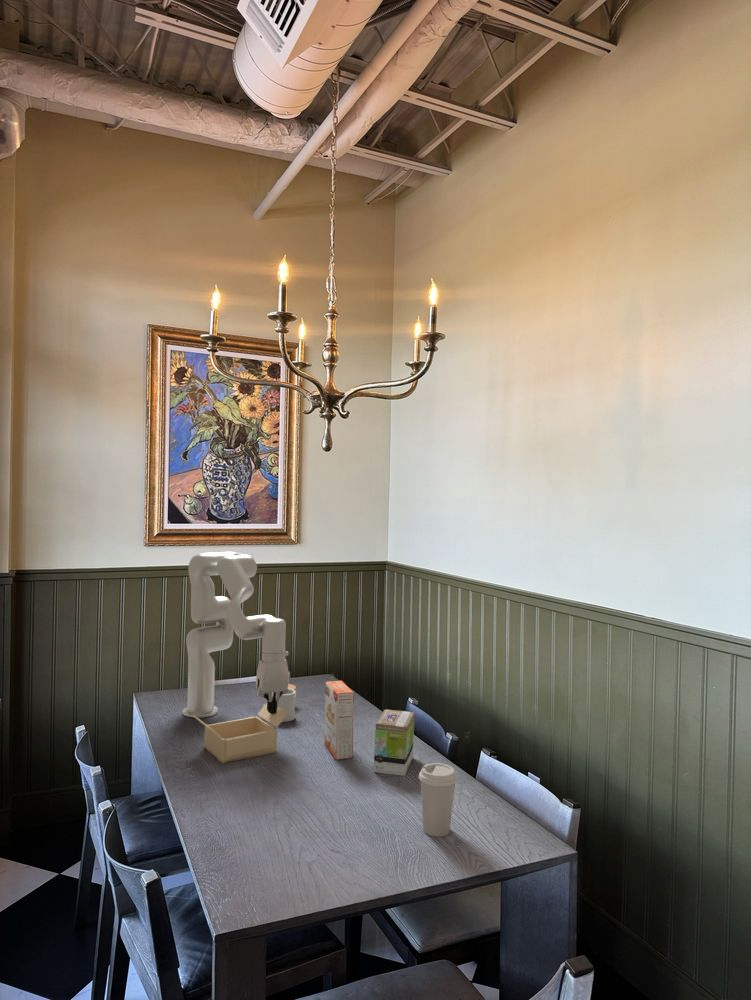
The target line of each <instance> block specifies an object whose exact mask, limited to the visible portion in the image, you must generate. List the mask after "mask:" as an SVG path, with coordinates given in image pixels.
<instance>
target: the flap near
mask: <svg viewBox="0 0 751 1000" xmlns="http://www.w3.org/2000/svg"><path fill="white" fill-rule="evenodd" d="M193 716H194V717H195V718H194V719H196V720H197V721H199V723H201V724H202V725H203V726H204V727H205V726H206V727H207V728H208V729H210V730H211V731H212V732H214V733H215V734H216V735H218V736H219V737H221V738H222V736H220V735H219V734H218V733H217V732H215V731H214V730H213V729H212V728H210V727H209V726H208V725H209V724H207V723H205V722H204V721H203V720H202V719H200V718H197V717H196V716H195V715H193Z"/></svg>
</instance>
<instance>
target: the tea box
mask: <svg viewBox="0 0 751 1000" xmlns="http://www.w3.org/2000/svg"><path fill="white" fill-rule="evenodd" d="M414 732H415V712H413V711H405V710H396V709H395V710H394V709H393V710H392V709H383V712H382V713H381V715H380V716H379V718H378V720H377V721H376V723H375V734H374V735H375V736H374V750H373V751H374V752H373V754H374V755H373V772H374V773H377V774H378V773H379V774H385V775H393V776H403V777H404V776H405V775H406V774H407V771H408V769H409V766H410V765H411V762H412V759H413V755H414V736H415V735H414Z"/></svg>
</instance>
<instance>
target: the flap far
mask: <svg viewBox="0 0 751 1000" xmlns="http://www.w3.org/2000/svg"><path fill="white" fill-rule="evenodd" d="M264 704H265V703H264ZM264 704H263V705H264ZM287 714H288V713H287V712H286V711H284V710H282V709H281V708H279V707H277V710H276V713H275V714H274V713H273V714H270V713H269V712H268V711H267V703H266V704H265V705H264V707H263V708H261V710H259V712H258V713H257V716H258V717H259V718H260V717H261V718H262V720H264V721H265V722H268V724H269V723H270V725H271V726H274V728H278V727H279V726H280V725H281V723H283V722H282V720H283V719H284V718H285V716H286V715H287Z"/></svg>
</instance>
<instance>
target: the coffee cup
mask: <svg viewBox="0 0 751 1000" xmlns="http://www.w3.org/2000/svg"><path fill="white" fill-rule="evenodd" d="M418 780H419V781H420V794H421V810H422V812H421V813H422V814H421V815H422V827H423V828H422V829H423V832H424V833H425V834H427V835H428V836H431V837H437V838H438V837H439V838H440V837H446V836H447V835H449V833H450V832H451V822H452V814H453V806H454V805H453V803H454V797H455V790H456V789H455V787H456V783H457V782H458V775H457V773H456V772H455V768H453V767H452V766H451V765H449V764H444V763H440V762H433V763H427V764H425V765H423V766H422V767H421V770H420V771H419V774H418Z"/></svg>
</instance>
